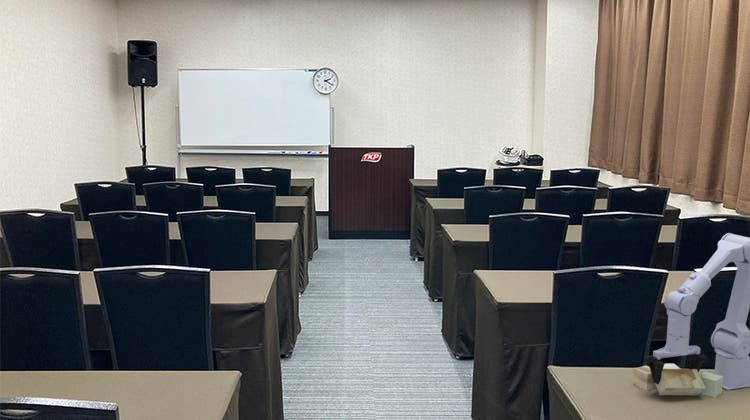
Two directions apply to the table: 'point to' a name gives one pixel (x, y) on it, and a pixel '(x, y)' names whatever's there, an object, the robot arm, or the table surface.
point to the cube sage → (711, 384)
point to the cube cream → (670, 366)
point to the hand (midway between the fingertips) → (674, 380)
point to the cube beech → (643, 378)
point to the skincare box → (680, 382)
